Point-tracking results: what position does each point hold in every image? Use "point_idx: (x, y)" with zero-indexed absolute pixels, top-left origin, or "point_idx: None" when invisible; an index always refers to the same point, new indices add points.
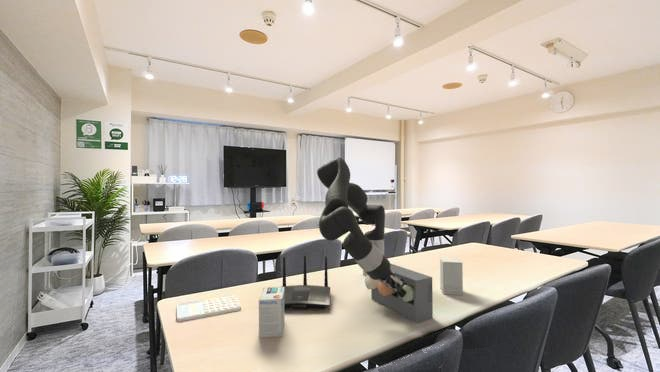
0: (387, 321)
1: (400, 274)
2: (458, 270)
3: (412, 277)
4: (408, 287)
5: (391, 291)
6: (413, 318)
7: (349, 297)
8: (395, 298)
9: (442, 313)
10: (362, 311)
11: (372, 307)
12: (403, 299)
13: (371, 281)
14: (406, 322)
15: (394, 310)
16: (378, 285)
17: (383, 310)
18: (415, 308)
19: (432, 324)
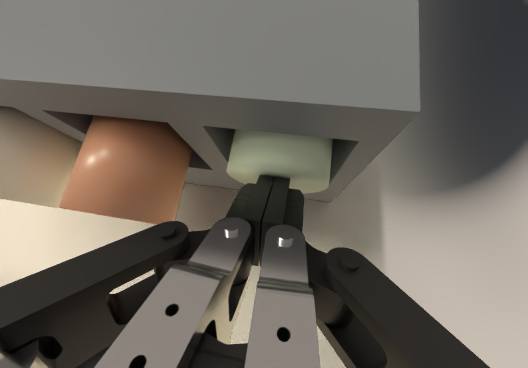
0: (253, 280)
1: (172, 83)
2: None
3: (317, 64)
4: (306, 157)
5: (181, 190)
6: (317, 198)
7: (8, 225)
8: (201, 171)
9: None
10: (126, 288)
11: (133, 225)
12: None
13: (8, 199)
14: (305, 227)
15: (212, 185)
16: (80, 211)
17: (180, 212)
18: (337, 188)
19: (371, 166)
